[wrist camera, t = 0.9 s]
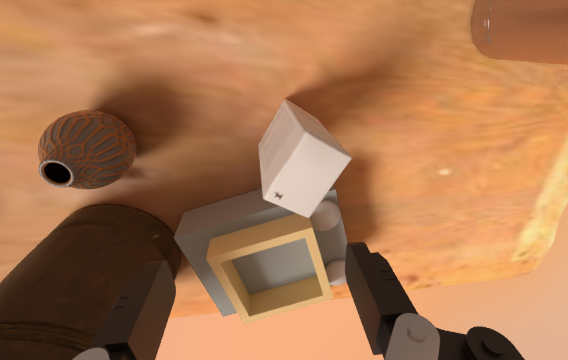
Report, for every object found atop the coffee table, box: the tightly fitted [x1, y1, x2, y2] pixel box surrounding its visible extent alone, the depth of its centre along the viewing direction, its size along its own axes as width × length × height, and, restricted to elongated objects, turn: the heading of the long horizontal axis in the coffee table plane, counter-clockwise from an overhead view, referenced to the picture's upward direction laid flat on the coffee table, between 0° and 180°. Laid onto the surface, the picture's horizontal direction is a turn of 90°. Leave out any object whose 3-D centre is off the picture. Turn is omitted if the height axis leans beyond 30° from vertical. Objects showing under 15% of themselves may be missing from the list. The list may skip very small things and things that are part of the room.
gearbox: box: [174, 185, 347, 324], centre depth 32 cm, size 18×14×8 cm
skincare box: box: [258, 99, 352, 218], centre depth 24 cm, size 6×4×12 cm
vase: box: [38, 110, 136, 189], centre depth 24 cm, size 7×7×9 cm
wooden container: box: [0, 204, 181, 360], centre depth 25 cm, size 15×15×22 cm
